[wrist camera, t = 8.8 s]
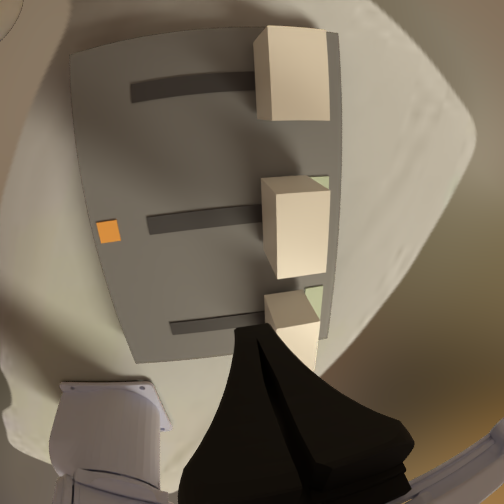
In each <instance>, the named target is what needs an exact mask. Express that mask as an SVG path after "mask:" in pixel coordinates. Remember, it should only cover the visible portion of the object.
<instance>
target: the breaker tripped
mask: <svg viewBox="0 0 504 504" xmlns="http://www.w3.org/2000/svg"><path fill="white" fill-rule="evenodd" d="M261 196H262V222H263V249H264V252H265V254H266V256H267V258H268V260H269V262H270V265H271V267H272V269H273V271H274V273H275V275H276V277H277V279H283V278H290V277H297V276H304V275H311V274H318V273H325V272H326V265H327V251H328V235H329V216H330V190H329V189H327V188H326V187H324V186H323V185H321V184H319V183H318V182H316V181H315V180H313V179H312V178H310V177H308V176H307V175H299V176H282V177H268V178H261Z"/></svg>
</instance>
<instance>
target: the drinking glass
mask: <svg viewBox="0 0 504 504" xmlns="http://www.w3.org/2000/svg"><path fill="white" fill-rule="evenodd" d="M22 6H23V0H0V41H1V40H2V39H3V38H4V37H5V36H6V35H7V34H8V33H9V31H10V30H11V29H12V27H13V26H14V24H15V22H16V21H17V19H18V17H19V14H20V12H21V9H22Z"/></svg>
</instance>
